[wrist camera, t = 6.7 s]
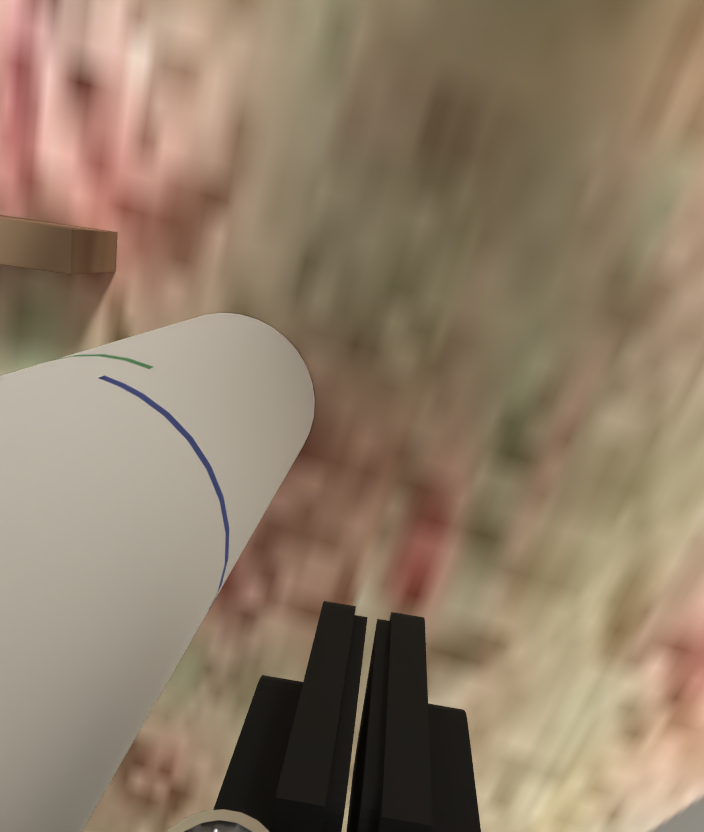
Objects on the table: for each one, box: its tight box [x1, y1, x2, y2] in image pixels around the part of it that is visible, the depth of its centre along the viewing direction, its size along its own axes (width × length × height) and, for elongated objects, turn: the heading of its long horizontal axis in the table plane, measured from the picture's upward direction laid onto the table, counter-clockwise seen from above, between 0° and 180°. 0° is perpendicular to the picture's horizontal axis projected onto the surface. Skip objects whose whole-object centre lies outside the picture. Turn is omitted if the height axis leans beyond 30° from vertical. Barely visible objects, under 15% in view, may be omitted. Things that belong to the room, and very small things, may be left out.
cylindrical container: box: [0, 313, 315, 832], centre depth 14 cm, size 7×7×25 cm
